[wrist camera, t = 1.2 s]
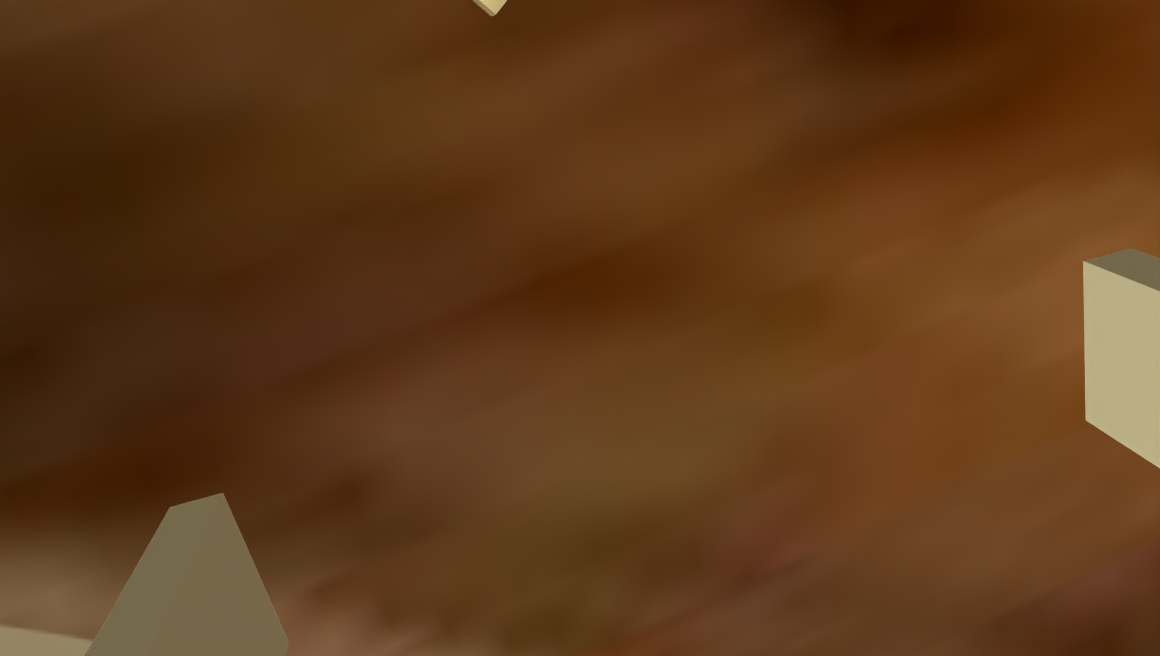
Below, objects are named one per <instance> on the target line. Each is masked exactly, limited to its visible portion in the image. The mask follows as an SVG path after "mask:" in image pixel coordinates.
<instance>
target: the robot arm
mask: <svg viewBox="0 0 1160 656" xmlns="http://www.w3.org/2000/svg"><path fill="white" fill-rule="evenodd" d="M1083 273H1084V338H1085V404H1086V421H1088V422H1089V423H1091V424H1092V425H1094V426H1095V427H1097V428H1098V429H1100V430H1102V431H1103V432H1105V433H1106V434H1108V435H1109V436H1111V437H1112V438H1114V439H1115V440H1117V441H1119V442H1120V443H1122V444H1123V445H1125V446H1126V447H1128V448H1129V449H1131V450H1132V451H1134V452H1136V453H1137V454H1139V455H1140V456H1142V457H1143V458H1145V459H1146V460H1148V461H1149V462H1151V463H1153V464H1154V465H1156V466H1157V467H1159V468H1160V258H1158V257H1155V256H1152V255H1149V254H1146V253H1143V252H1140V251H1138V250H1135V249H1132V248H1130V249H1126V250H1123V251H1119V252H1115V253H1111V254H1108V255H1104V256H1100V257H1097V258H1093V259H1089V260H1085V261H1083ZM288 644H289V641H288V639H287V636H286V634H285V632H284V630H283V627H282V625H281V623H280V621H279V618H278V616H277V614H276V612H275V609H274V607H273V605H272V603H271V600H270V598H269V596H268V594H267V591H266V589H265V587H264V585H263V582H262V580H261V578H260V575H259V573H258V571H257V569H256V566H255V564H254V562H253V560H252V557H251V555H250V553H249V551H248V548H247V546H246V544H245V542H244V539H243V537H242V535H241V533H240V530H239V528H238V526H237V524H236V521H235V519H234V517H233V515H232V512H231V510H230V508H229V506H228V503H227V501H226V499H225V497H224V494H223V493H221V494H217V495H213V496H210V497H206V498H202V499H199V500H195V501H191V502H187V503H184V504H180V505H176V506H173V507H170V508H169V510H168V512H167V513H166V515H165V517H164V519H163V520H162V522H161V524H160V526H159V527H158V529H157V531H156V533H155V534H154V536H153V538H152V540H151V541H150V543H149V545H148V547H147V548H146V550H145V552H144V554H143V555H142V557H141V559H140V561H139V562H138V564H137V566H136V568H135V569H134V571H133V573H132V575H131V576H130V578H129V580H128V582H127V583H126V585H125V587H124V589H123V590H122V592H121V594H120V596H119V597H118V599H117V601H116V603H115V604H114V606H113V608H112V610H111V611H110V613H109V615H108V616H107V618H106V620H105V622H104V623H103V625H102V627H101V629H100V630H99V632H98V634H97V636H96V637H95V639H94V641H93V643H92V644H91V646H90V648H89V650H88V651H87V653H86V655H85V656H286V652H287V648H288Z"/></svg>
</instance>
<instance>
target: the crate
mask: <svg viewBox="0 0 1160 656" xmlns="http://www.w3.org/2000/svg"><path fill="white" fill-rule="evenodd" d="M473 1H474V2H475V3H476V4H477V5H478V6H480V7H481V8H482V9H483V10H484V11H485V12H486V13H488V14H489V15H490V16H493V15H496V14H497V12H498V11H499V10H500V9H501V7H502V6H503V5H504V3H505V2H506V1H507V0H473Z"/></svg>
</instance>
